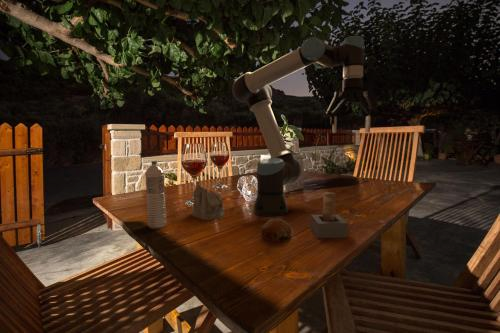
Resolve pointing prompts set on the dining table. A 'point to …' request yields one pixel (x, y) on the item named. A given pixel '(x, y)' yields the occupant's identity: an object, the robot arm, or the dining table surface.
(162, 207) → the water bottle
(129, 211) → the dining table surface
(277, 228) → the bread roll
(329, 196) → the dowel
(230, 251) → the dining table surface
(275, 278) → the dining table surface
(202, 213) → the ceramic cottage
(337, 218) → the socket
